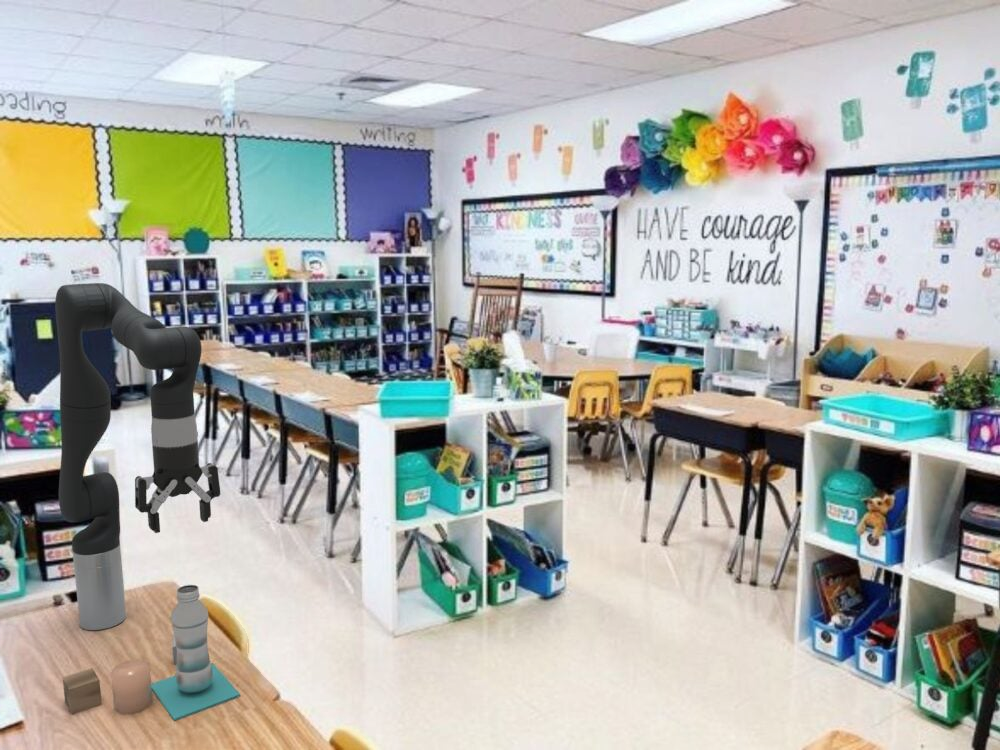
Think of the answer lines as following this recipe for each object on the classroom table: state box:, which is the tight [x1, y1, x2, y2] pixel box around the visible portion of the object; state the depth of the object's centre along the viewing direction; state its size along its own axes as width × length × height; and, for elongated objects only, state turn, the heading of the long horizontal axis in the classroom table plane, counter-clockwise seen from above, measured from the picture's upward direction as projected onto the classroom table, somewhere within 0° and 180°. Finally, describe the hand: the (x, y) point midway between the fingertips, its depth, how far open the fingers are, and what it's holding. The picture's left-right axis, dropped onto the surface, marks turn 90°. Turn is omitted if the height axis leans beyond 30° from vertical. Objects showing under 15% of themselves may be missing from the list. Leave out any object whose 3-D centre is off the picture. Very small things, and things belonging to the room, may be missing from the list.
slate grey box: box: [172, 635, 177, 666], centre depth 163 cm, size 6×4×4 cm, turn 19°
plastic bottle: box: [170, 584, 213, 693], centre depth 149 cm, size 6×7×20 cm
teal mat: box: [151, 662, 241, 722], centre depth 150 cm, size 14×12×1 cm
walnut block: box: [62, 667, 103, 716], centre depth 146 cm, size 5×5×5 cm
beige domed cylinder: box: [110, 658, 154, 715], centre depth 146 cm, size 6×6×7 cm
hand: (180, 526), depth 145 cm, fingers open, 8 cm apart
